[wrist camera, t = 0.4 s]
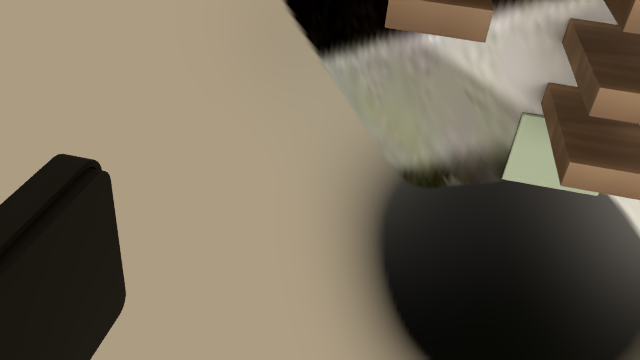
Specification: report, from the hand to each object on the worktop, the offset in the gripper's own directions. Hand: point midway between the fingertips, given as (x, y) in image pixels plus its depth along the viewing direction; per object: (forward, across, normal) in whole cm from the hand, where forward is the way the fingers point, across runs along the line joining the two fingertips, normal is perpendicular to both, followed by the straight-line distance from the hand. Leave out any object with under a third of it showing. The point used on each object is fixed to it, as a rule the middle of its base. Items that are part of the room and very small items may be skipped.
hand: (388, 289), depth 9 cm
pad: (+32, -12, +14) cm, 37 cm away
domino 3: (+32, -12, +10) cm, 36 cm away
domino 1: (+32, -1, +2) cm, 32 cm away
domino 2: (+32, -12, +5) cm, 35 cm away
